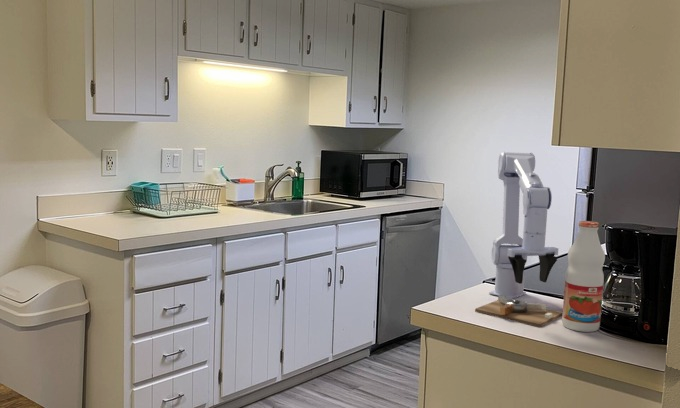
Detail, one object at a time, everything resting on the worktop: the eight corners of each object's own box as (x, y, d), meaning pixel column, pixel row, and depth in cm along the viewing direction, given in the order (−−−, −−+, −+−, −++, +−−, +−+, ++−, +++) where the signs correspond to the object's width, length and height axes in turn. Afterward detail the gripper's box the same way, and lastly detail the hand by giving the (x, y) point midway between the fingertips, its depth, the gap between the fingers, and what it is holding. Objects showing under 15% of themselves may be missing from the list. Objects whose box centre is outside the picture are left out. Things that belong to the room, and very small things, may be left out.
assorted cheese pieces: (499, 301, 192) (500, 292, 191) (547, 311, 182) (548, 302, 182) (478, 309, 182) (478, 300, 182) (527, 321, 173) (527, 311, 172)
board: (500, 301, 195) (500, 298, 195) (562, 315, 182) (562, 312, 182) (475, 311, 184) (475, 308, 184) (539, 327, 171) (539, 324, 171)
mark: (548, 316, 179) (548, 312, 178) (552, 317, 178) (552, 313, 178) (544, 318, 177) (544, 314, 177) (548, 319, 176) (548, 315, 176)
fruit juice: (590, 321, 178) (599, 219, 174) (605, 333, 168) (615, 225, 165) (556, 321, 177) (564, 218, 174) (569, 332, 168) (578, 224, 164)
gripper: (519, 235, 168) (515, 287, 170) (566, 234, 173) (563, 284, 175) (504, 230, 175) (501, 280, 177) (550, 229, 180) (547, 278, 181)
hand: (530, 282), depth 176 cm, fingers open, 7 cm apart
